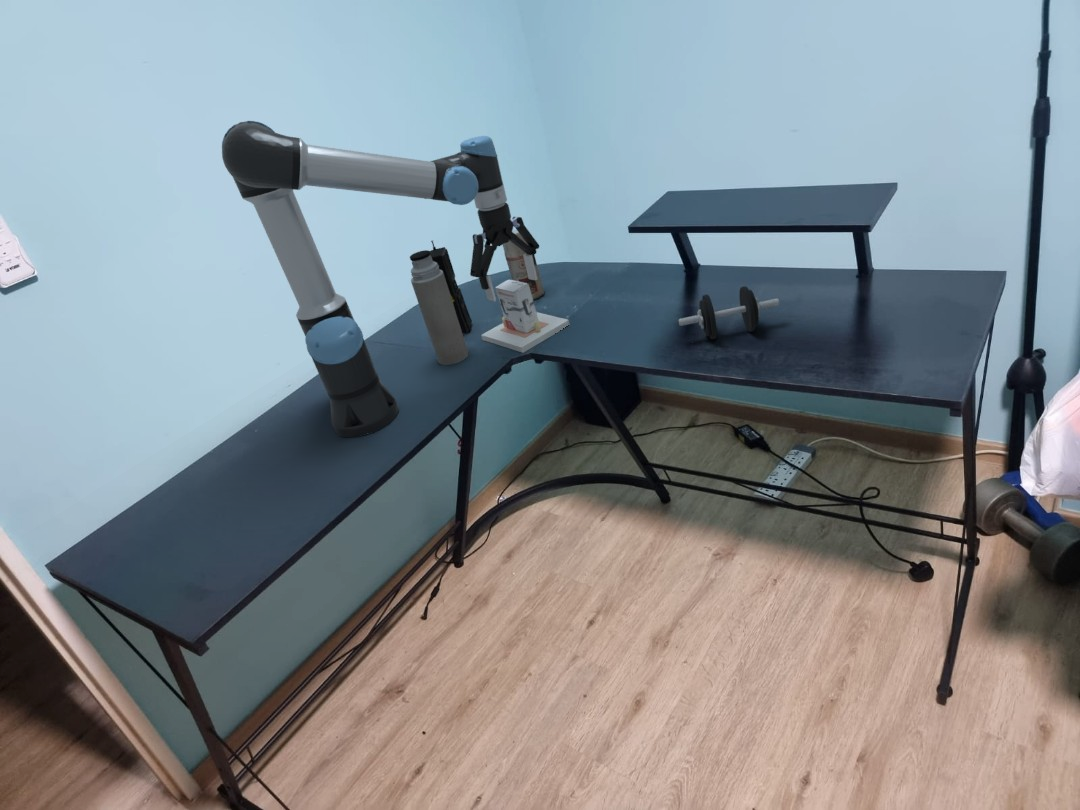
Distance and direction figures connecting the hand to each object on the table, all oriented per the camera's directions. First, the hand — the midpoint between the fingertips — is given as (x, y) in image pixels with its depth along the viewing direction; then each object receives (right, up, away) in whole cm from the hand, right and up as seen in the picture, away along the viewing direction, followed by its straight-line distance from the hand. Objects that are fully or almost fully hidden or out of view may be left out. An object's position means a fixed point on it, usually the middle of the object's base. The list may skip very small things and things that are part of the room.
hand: (513, 289), depth 177 cm
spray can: (+4, +2, +27) cm, 28 cm away
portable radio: (-15, -9, +17) cm, 24 cm away
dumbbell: (+49, -13, -20) cm, 55 cm away
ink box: (+3, -9, +5) cm, 11 cm away
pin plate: (+3, -10, +6) cm, 12 cm away
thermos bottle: (-15, -17, +3) cm, 23 cm away
